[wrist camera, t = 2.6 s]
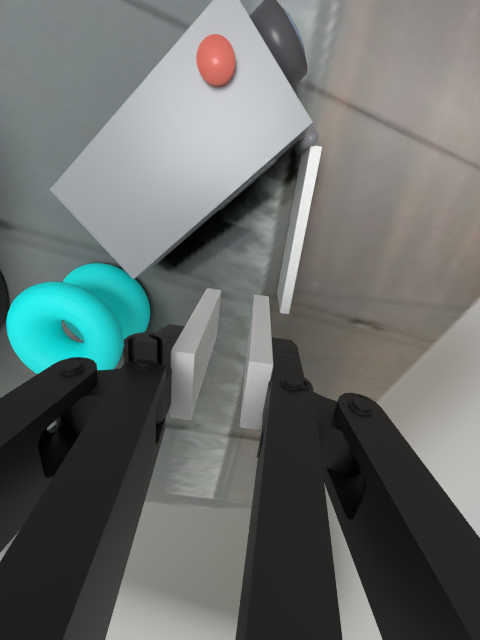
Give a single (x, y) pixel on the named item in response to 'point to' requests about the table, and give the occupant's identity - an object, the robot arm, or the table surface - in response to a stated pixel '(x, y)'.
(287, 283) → the side door
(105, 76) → the table surface
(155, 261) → the grey boxy piece
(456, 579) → the robot arm
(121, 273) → the donuts
